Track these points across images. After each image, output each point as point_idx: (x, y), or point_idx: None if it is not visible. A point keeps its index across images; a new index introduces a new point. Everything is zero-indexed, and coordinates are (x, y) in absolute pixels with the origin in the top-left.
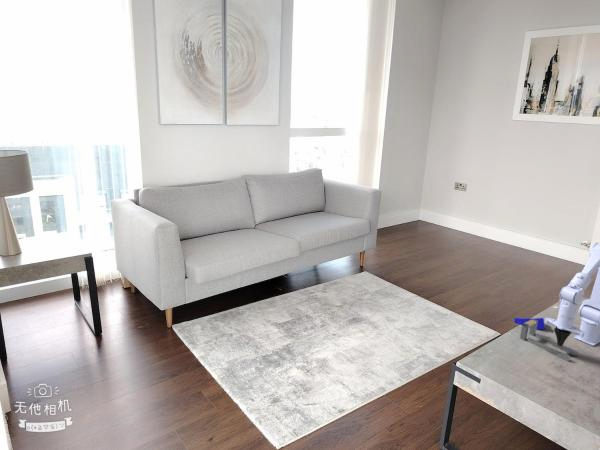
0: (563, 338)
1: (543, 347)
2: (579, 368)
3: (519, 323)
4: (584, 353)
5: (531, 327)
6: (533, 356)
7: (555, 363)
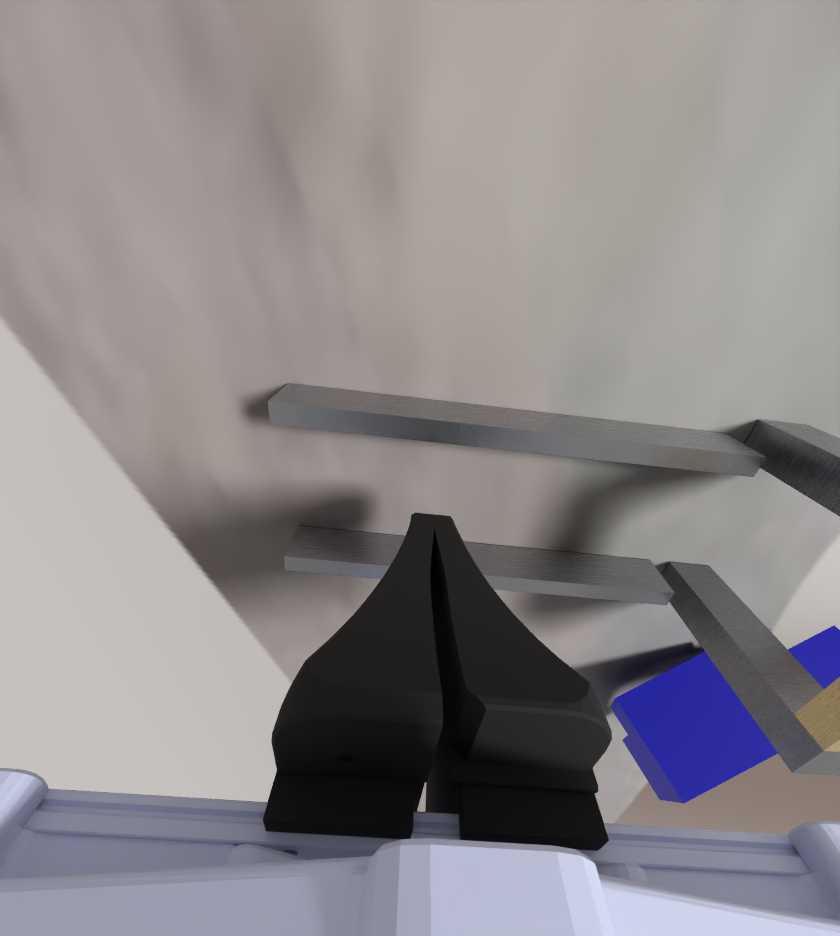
0: (379, 596)
1: (565, 423)
2: (152, 328)
3: (817, 658)
4: (296, 607)
5: (769, 642)
6: (632, 95)
7: (349, 184)
